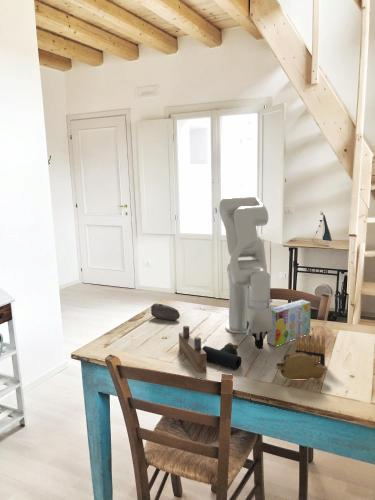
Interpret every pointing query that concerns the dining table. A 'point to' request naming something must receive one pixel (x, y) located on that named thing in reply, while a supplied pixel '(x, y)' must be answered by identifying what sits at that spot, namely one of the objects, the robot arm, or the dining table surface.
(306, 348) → the ammunition clip
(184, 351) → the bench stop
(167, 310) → the perforated stone tool
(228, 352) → the pipe connector
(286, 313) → the snack box
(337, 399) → the dining table surface
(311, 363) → the wooden carving
